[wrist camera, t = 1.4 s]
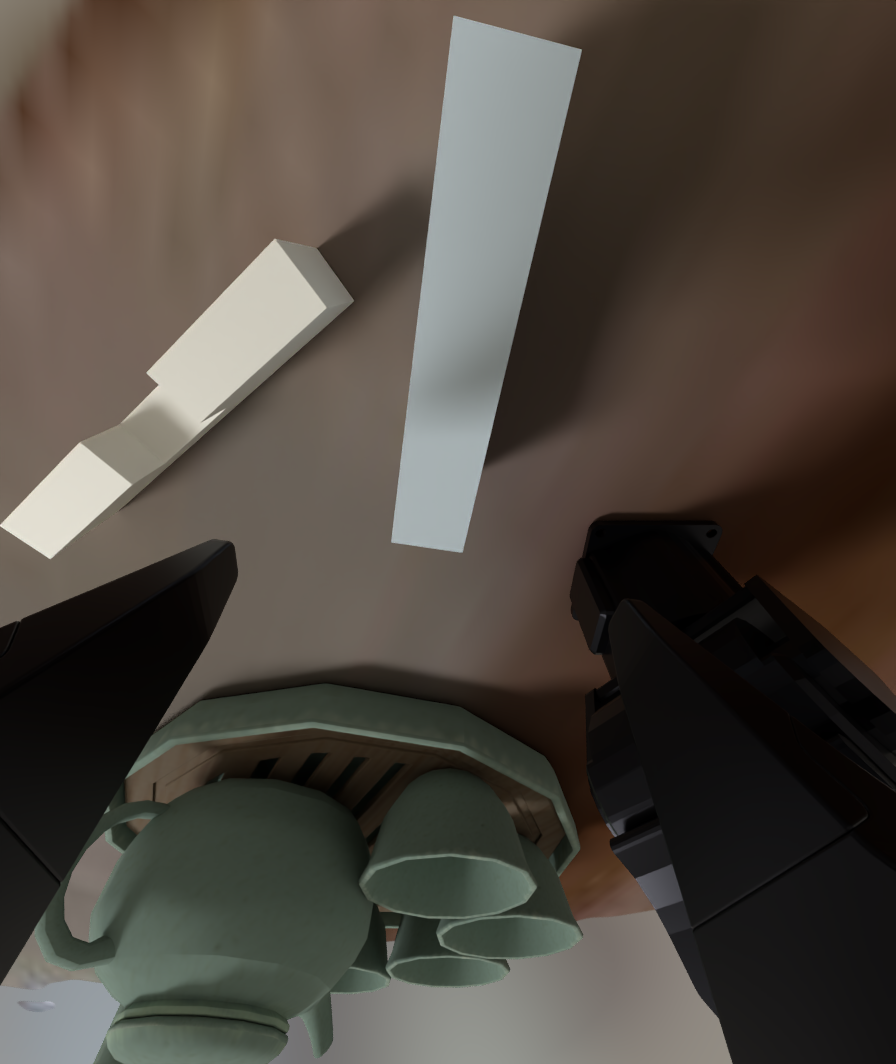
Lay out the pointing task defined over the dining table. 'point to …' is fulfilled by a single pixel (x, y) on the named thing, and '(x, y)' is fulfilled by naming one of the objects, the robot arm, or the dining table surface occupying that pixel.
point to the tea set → (313, 869)
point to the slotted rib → (187, 393)
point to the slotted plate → (476, 264)
